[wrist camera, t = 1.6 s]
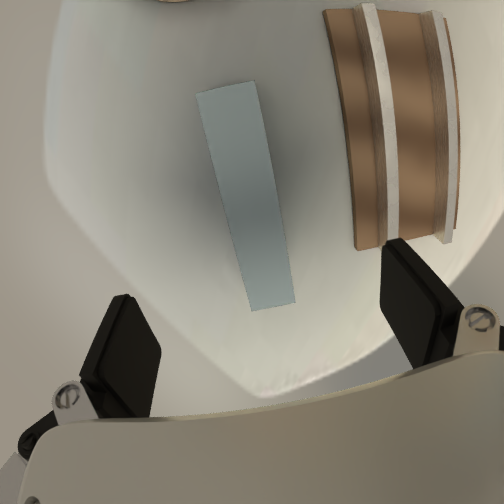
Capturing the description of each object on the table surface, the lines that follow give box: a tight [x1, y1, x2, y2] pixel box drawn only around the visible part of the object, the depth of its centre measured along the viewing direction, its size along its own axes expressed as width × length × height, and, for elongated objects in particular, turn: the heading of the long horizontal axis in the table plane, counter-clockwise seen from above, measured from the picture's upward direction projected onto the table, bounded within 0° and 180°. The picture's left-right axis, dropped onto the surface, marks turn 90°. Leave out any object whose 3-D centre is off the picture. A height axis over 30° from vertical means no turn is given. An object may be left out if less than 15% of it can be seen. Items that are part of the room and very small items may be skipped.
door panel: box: [195, 80, 296, 311], centre depth 20 cm, size 14×3×7 cm, turn 11°
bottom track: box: [323, 3, 460, 251], centre depth 20 cm, size 20×11×3 cm, turn 12°
